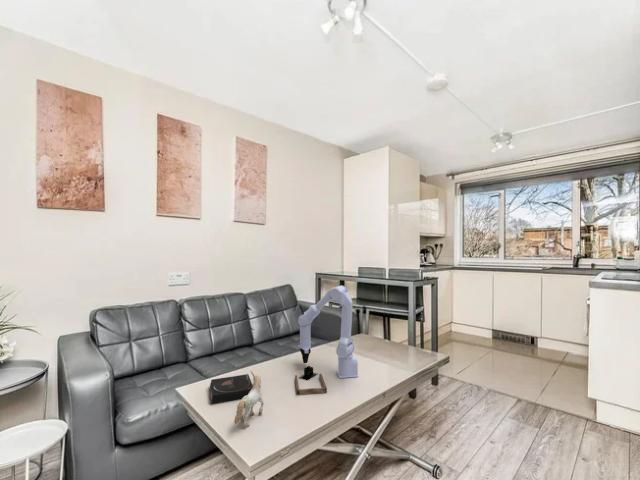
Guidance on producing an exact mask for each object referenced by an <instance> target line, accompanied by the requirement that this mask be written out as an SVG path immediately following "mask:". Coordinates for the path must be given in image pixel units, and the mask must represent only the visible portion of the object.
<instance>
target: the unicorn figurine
mask: <svg viewBox="0 0 640 480" xmlns="http://www.w3.org/2000/svg"><path fill="white" fill-rule="evenodd" d="M250 373H251V375H252V376H253V377H252V380H253V383H252V386H253V388H252V390H251V391H250V392H249V394H248V395H246V396H244V397H243V398H242V399H241V400H240V401H239V402H238V404H237V406H236V407H237V409H236V411H235V413H236V414H235V416H234V420H233V422H234V425H235V427H236V428H237V426H238V424H239V423H240V422H241V423H243V425H244V427H245V428H249V427H250V424H249V422H248V416H251V417H252V416H254V415H255V412H254V407H255V405H257V403H258V402H260V407H259V409H258V411H259V412H258V415H259V416H262V414H263V410H264V403H265V402H264V400H263V398H262V397H263V394H262V393H263V392H262V391H261V388H262V385H261V384H262V382H261V376H260V374H256V375H255V374H254V372H253V371H252V370H250ZM244 410H245V414H243V413H244Z"/></svg>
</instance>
